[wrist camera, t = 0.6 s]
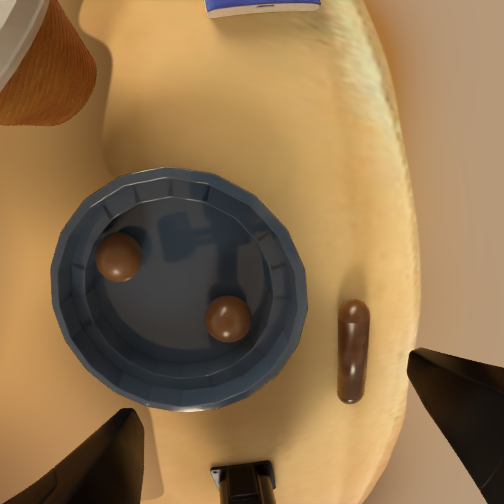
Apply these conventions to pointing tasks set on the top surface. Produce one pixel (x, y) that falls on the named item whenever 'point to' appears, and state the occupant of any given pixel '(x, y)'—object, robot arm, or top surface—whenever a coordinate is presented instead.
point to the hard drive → (256, 6)
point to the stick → (352, 350)
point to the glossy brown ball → (118, 257)
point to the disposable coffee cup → (41, 64)
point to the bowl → (179, 289)
